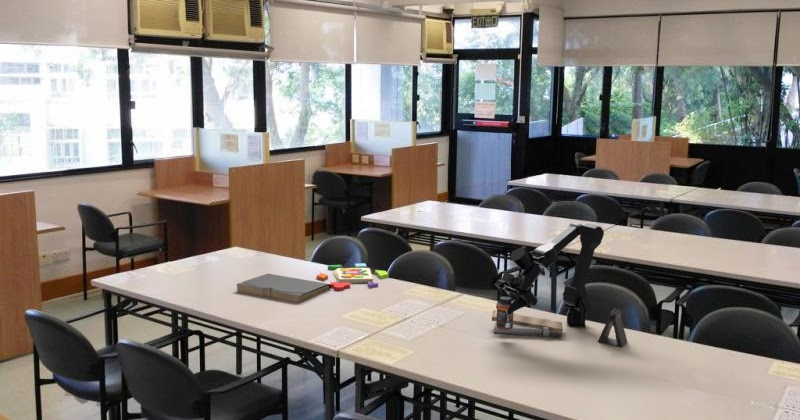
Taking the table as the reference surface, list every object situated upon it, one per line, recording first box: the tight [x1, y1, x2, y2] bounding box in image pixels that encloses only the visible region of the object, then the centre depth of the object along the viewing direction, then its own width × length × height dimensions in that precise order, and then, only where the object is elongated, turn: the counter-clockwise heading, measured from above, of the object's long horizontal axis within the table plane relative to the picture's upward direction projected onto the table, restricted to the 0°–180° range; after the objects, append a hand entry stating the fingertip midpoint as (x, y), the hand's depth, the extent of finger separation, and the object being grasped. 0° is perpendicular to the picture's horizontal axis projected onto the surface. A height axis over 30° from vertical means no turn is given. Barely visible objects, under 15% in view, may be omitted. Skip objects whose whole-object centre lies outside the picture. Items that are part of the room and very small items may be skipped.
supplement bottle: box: [495, 296, 514, 330], centre depth 264 cm, size 6×6×11 cm
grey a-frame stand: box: [597, 308, 628, 348], centre depth 264 cm, size 9×6×12 cm, turn 55°
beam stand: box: [493, 318, 560, 340], centre depth 275 cm, size 24×11×4 cm, turn 80°
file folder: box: [236, 273, 332, 304], centre depth 321 cm, size 33×4×24 cm
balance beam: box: [491, 310, 564, 334], centre depth 274 cm, size 26×8×2 cm, turn 80°
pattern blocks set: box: [316, 262, 389, 292], centre depth 344 cm, size 38×34×3 cm
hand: (502, 310), depth 263 cm, fingers closed on supplement bottle, 6 cm apart
